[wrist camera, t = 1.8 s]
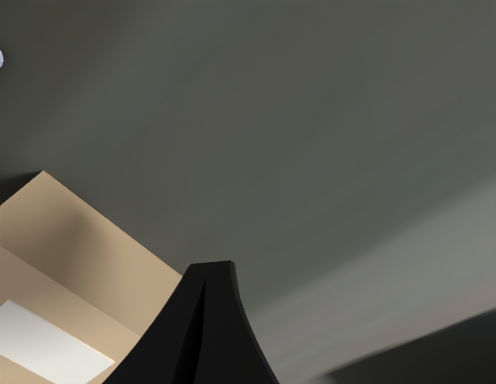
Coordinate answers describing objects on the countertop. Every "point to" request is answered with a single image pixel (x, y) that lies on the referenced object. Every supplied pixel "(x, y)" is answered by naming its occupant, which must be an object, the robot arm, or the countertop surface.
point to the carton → (71, 288)
